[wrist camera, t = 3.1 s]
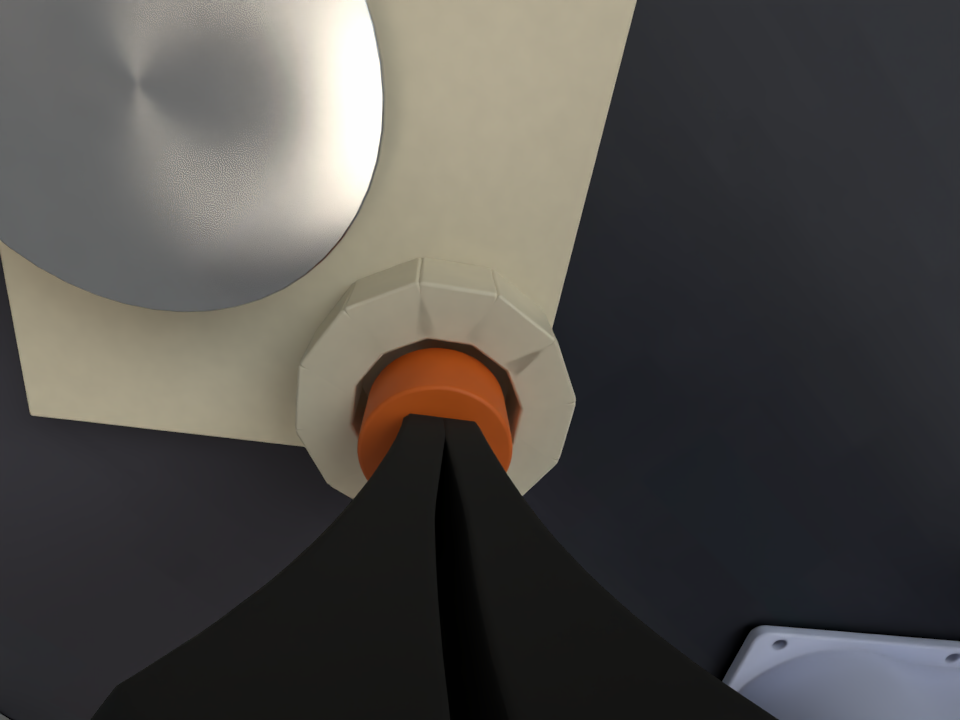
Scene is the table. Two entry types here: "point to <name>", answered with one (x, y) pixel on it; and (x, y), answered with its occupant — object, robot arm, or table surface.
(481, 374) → the tare button
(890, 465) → the table surface
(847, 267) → the table surface
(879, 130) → the table surface
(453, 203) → the scale
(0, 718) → the food container
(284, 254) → the weighing pan
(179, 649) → the robot arm
